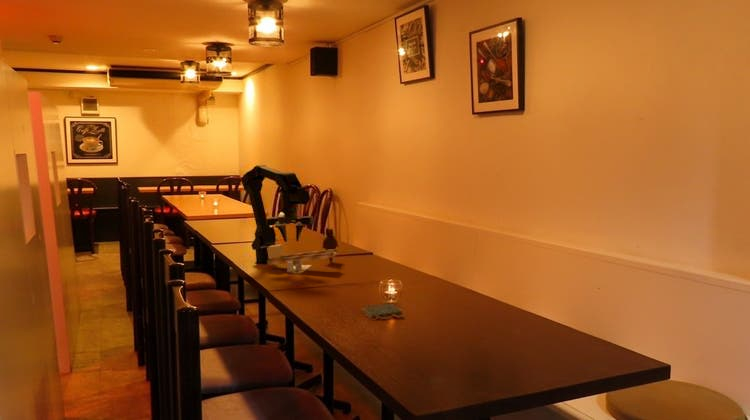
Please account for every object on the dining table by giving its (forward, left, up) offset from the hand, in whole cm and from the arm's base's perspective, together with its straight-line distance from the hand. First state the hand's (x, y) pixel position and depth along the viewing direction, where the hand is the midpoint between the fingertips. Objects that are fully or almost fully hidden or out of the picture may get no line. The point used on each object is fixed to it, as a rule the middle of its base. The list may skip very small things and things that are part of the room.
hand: (291, 241), depth 240 cm
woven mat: (+46, -59, -13) cm, 76 cm away
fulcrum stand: (0, 0, -12) cm, 12 cm away
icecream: (+11, +18, -13) cm, 25 cm away
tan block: (-7, 0, -8) cm, 10 cm away
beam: (0, 0, -8) cm, 8 cm away
